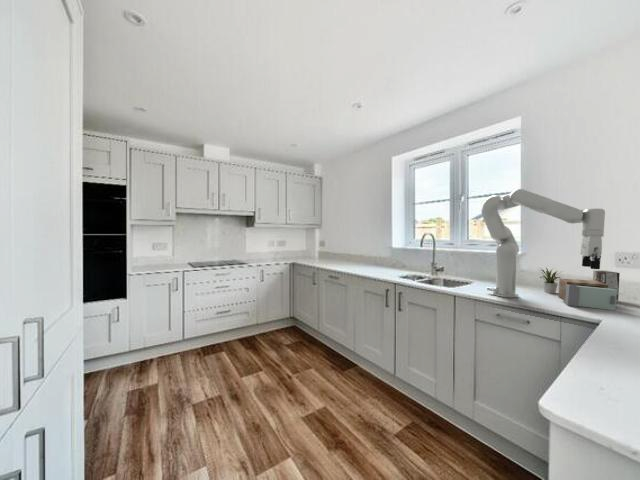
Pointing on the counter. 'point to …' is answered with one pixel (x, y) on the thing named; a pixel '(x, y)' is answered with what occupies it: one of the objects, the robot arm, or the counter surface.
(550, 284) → the house plant
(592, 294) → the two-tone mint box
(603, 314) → the counter surface
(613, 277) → the coffee box
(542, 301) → the counter surface
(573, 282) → the cabinet
